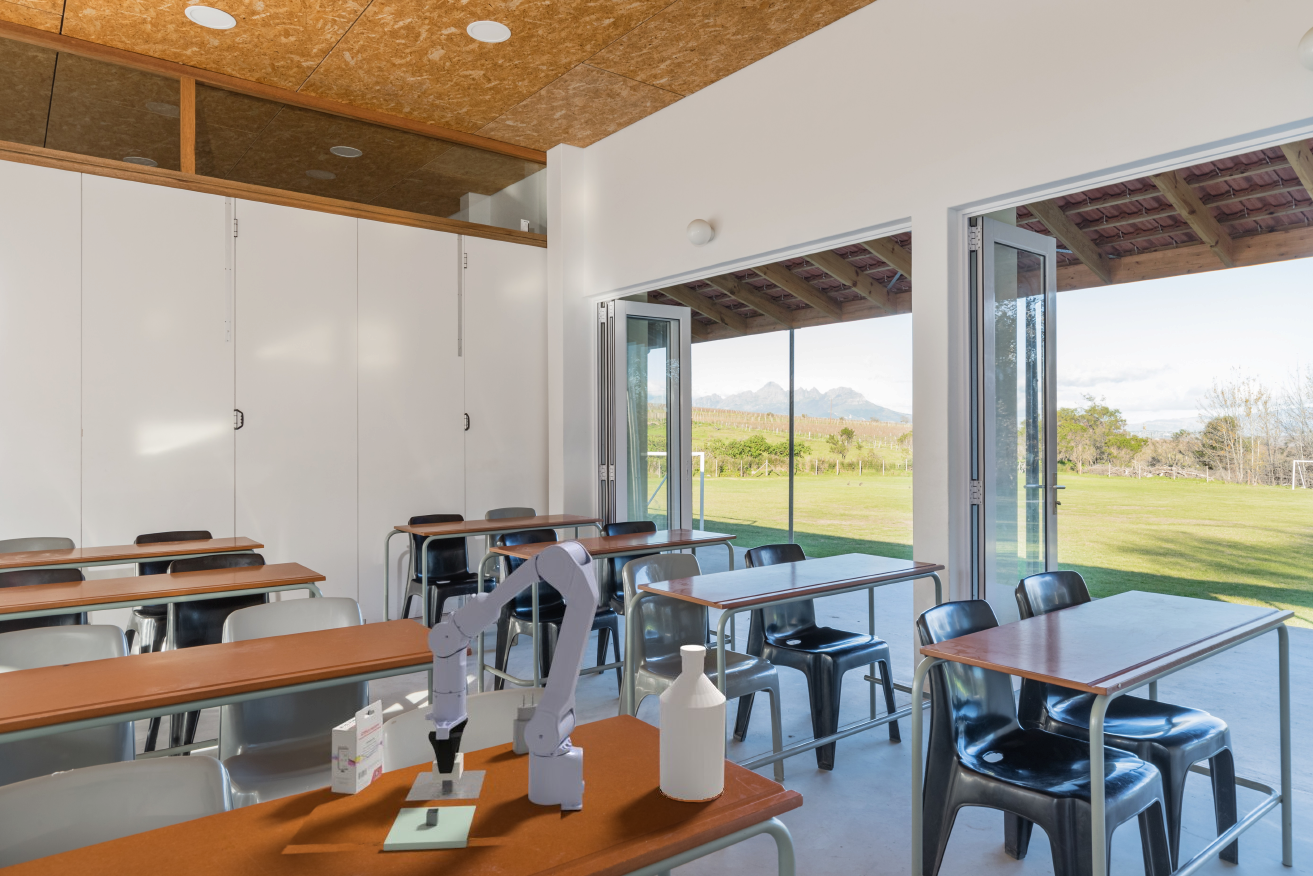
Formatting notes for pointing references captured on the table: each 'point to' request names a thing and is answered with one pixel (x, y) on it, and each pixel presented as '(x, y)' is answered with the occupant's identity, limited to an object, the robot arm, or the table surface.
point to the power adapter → (522, 725)
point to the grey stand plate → (447, 787)
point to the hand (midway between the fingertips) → (448, 767)
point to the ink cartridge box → (357, 751)
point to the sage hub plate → (430, 828)
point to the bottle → (692, 732)
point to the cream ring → (455, 772)
